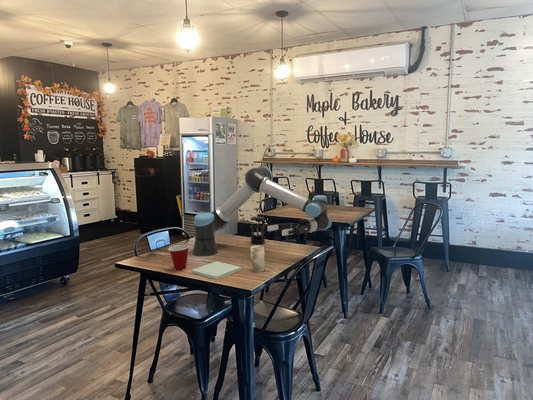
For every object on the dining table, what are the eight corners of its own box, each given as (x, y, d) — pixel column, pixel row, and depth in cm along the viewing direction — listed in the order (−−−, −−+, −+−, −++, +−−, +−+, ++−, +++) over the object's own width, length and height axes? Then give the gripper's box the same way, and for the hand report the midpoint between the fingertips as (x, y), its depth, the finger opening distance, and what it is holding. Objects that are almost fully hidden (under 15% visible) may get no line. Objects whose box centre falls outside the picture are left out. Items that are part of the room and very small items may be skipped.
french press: (256, 245, 253) (255, 210, 250) (246, 243, 260) (245, 208, 257) (269, 242, 262) (269, 207, 258) (259, 240, 268) (259, 206, 265)
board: (191, 272, 202) (191, 270, 202) (216, 264, 216) (216, 261, 216) (216, 279, 191) (216, 276, 191) (241, 269, 205) (241, 267, 205)
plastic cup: (170, 266, 214) (169, 244, 212) (191, 265, 215) (190, 243, 213) (167, 272, 203) (166, 249, 202) (189, 271, 204) (188, 249, 202)
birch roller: (248, 270, 204) (247, 247, 203) (256, 266, 210) (256, 244, 208) (259, 272, 200) (258, 249, 199) (267, 269, 206) (267, 246, 204)
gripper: (321, 236, 209) (289, 242, 198) (293, 228, 230) (262, 233, 219) (321, 222, 208) (288, 227, 197) (293, 215, 229) (262, 220, 218)
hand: (274, 230), depth 208 cm, fingers open, 13 cm apart
